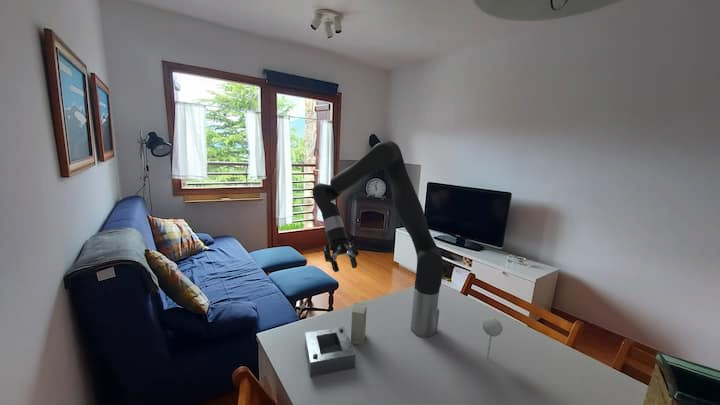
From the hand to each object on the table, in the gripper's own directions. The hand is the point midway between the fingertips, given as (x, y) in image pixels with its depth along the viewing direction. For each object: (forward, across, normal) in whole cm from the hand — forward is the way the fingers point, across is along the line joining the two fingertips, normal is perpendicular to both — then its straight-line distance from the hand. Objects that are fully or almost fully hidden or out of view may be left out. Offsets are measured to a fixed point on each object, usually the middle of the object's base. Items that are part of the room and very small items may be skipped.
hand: (346, 269), depth 104 cm
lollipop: (+42, +30, -24) cm, 57 cm away
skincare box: (+24, 0, +5) cm, 25 cm away
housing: (+26, -13, +5) cm, 29 cm away
